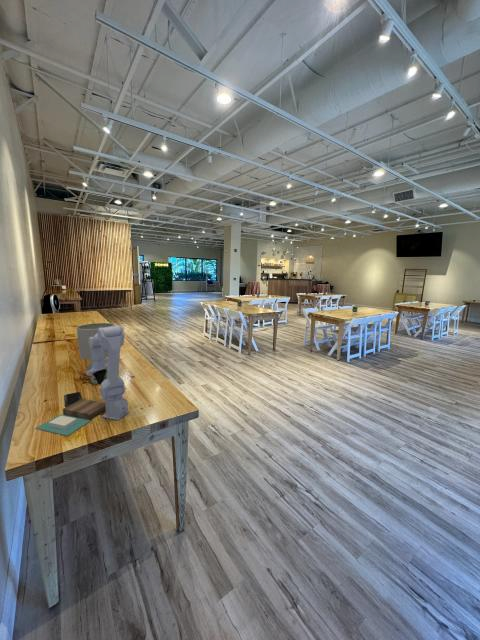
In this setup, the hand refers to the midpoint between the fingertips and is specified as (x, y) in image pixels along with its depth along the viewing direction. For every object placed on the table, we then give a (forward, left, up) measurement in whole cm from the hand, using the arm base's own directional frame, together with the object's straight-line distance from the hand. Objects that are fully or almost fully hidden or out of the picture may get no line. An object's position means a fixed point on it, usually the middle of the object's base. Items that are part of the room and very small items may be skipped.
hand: (100, 383), depth 140 cm
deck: (-2, +12, -9) cm, 15 cm away
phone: (+15, +4, -10) cm, 18 cm away
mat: (-2, +24, -9) cm, 26 cm away
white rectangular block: (-2, +24, -8) cm, 26 cm away
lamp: (+21, -21, -10) cm, 31 cm away
